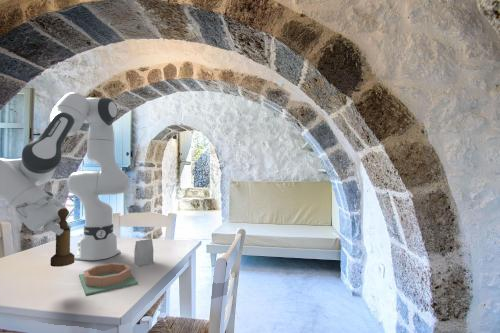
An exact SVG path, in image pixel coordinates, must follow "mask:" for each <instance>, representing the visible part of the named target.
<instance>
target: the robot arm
mask: <svg viewBox="0 0 500 333" xmlns="http://www.w3.org/2000/svg"><path fill="white" fill-rule="evenodd" d="M117 115H118V106H117V104H116V103H115V101H114V100H113V99H112V98H109V97H86V96H84V95H83V94H80V93H78V92H69V93H66V94H65V95H64V96H63V97H62V98H61V99H60V100H59V101H57V103H56V104H55V106H54V107H53V108H52V110H51V112H50V114H49V116H48V119H47V120H48V121H47V126H46V128H45V129H44V131H43V132H42V133H41V135H40V136H38V137H37V138H36V139H34V140H32V141H30V142H29V143H27V144H26V145H25V146H24V147H23V148H22V152H21V158H15V159H14V158H13V159H8V158H1V157H0V197H1V198H3V199H5V200H6V202H7V203H8V205H10V207H12V208H13V209H14V210H15V213H17V217H18V219H19V220H20V221H21V222H22V224H24V226H26V227H27V229H29V231H33V232H35V233H36V232H38V231H40V230H42V229H45V228H46V229H47V230H48V231H50V232H53V233H54V234H55V235H56V234H57V235H61V234H62V233H63V232H64V230H63V229H62V228H61V227H60V226H58V225H59V222H60V221H61V219H60V217H59V216H58V211H59V210H60V209H62V208H66V209H68V208H67V207H66V206H65V205H64V204H63V203H62V202H60V201H59V199H58V198H55V194H54V193H53V192H52V191H47V190H44V189H43V188H40V186H42V185H44V184H46V183H49V181H51V179H52V178H53V175H54V174H55V172H56V169H57V167H58V165H59V164H60V163H61V160H62V145H63V143H64V142H65V140H66V138H67V137H71V136H73V137H74V136H75V135H76V134H77V133H78V132H79V131H80V130H81V128H82V127H83V125H84V124H88V125H89V126H88V132H87V143H86V144H87V145H86V157H87V159H88V160H89V161H91V162H92V163H95V164H96V165H99V166H100V168H101V170H81V171H76V172H72V173H71V174H70V175H68V177H67V181H66V187H67V189H68V191H69V192H70V193H71V194H73V195H74V196H76V198H78V200H80V202H81V204H82V207H83V209H84V220H85V221H84V225H83V236H82V238H81V239H80V240H79V241H77V247H78V249H77V251H76V253H75V254H74V260H76V261H77V260H80V261H98V260H99V261H100V260H105V259H108V258H112V257H114V256H116V255H118V254H121V252H122V251H121V250H120V249H118V241H117V240H118V238H117V235H116V234H115V233H114V228H115V227H114V224H113V208H112V206H111V205H110V204H108V203H107V202H104V201H102V200H101V199H100V197H99V196H101V195H103V196H106V195H107V196H108V195H110V196H111V195H112V196H114V195H119V194H125V193H126V192H127V191H128V190H129V188H130V186H131V181H130V177H129V175H128V174H127V173H126V172H124V171H123V170H122V169H121V168H120V167H119V165H118V163H117V162H116V158H115V133H114V126H113V123H114V121H115V120H116V119H117ZM66 228H69V229H70V230H71V225H70V224H69V223H68V222H67V226H66Z"/></svg>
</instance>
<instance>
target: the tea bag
mask: <svg viewBox="0 0 500 333" xmlns="http://www.w3.org/2000/svg"><path fill="white" fill-rule="evenodd" d="M133 252H134V257H133V259H134V260H133V261H134V262H133V263H134V265H135V266H136V267H140V266H141V267H142V266H145V265H150V264H154V244H153V238H148V239H142V240H135V245H134V250H133Z"/></svg>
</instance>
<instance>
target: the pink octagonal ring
mask: <svg viewBox="0 0 500 333" xmlns="http://www.w3.org/2000/svg"><path fill="white" fill-rule="evenodd" d="M131 271H132V270H131V267H130V266H129V265H128V264H127V263H121V262H119V263H118V262H117V263H116V262H111V263H105V264H98V265H94V266H93V267H90V268H87V269H86V270H85V271H83V274H84V282H85V285H86V286H97V287H104V286H109V285H113V284H118V283H122V282H123V281H125V280H126V279H128V278H129V277H130V275H132V273H131ZM109 272H120V273H119V274H114V275H108V276H103V277H102V276H96V275H98V274H103V273H109Z"/></svg>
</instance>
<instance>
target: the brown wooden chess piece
mask: <svg viewBox="0 0 500 333" xmlns="http://www.w3.org/2000/svg"><path fill="white" fill-rule="evenodd" d="M66 208H67V207H66ZM66 208H62V209H60V210H59V211H58V216H59V217H60V219H61V221H60V222H59V224H58V225H59V227H61V228H62V229H63V230H64V232H63V233H62V234H61V235H57V234H56V233H55V254H54V255H53V256H51V257H50V265H49V266H51V267H54V268H55V267H57V268H58V267H59V268H61V267H66V266H70V265H73V264H74V263H75V254H73V253H72V252H71V228H70V229H69V228H66V226H67V223H68V221H67V217H68V216H69V214H70V211H69V210H68V208H67V209H66Z"/></svg>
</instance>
